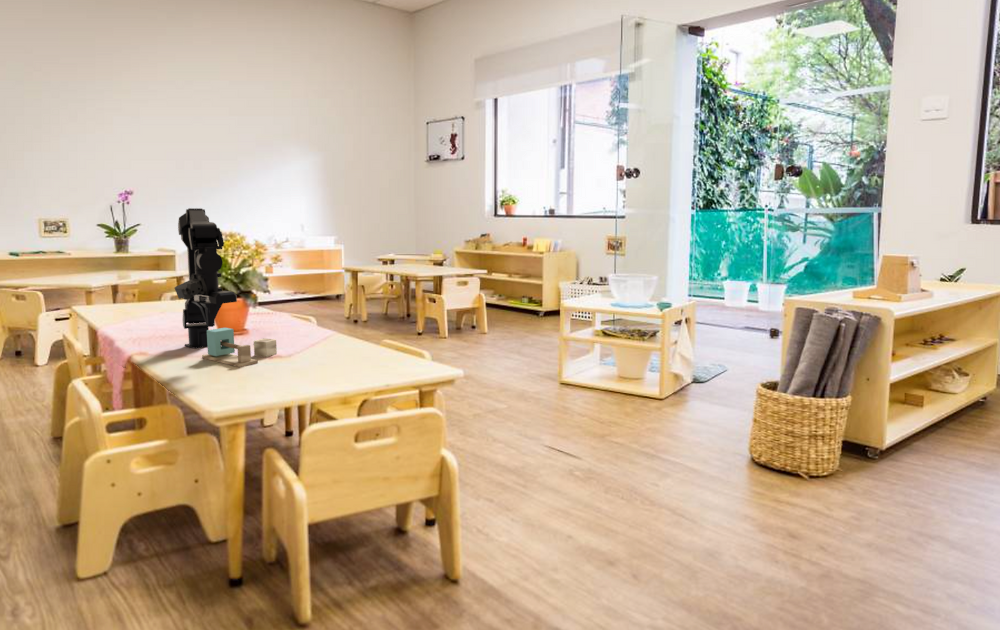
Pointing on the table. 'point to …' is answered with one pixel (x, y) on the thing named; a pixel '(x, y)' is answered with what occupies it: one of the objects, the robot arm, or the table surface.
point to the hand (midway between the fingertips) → (209, 325)
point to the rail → (234, 356)
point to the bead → (214, 341)
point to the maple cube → (265, 347)
